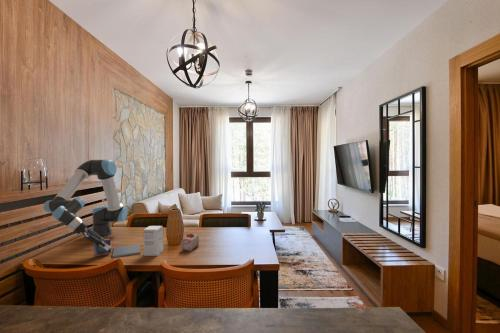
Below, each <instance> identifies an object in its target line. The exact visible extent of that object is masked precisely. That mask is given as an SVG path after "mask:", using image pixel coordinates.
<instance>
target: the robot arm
mask: <svg viewBox="0 0 500 333" xmlns="http://www.w3.org/2000/svg"><path fill="white" fill-rule="evenodd" d="M116 174H117V165H116V163H115V161H113V160H111V159H90V160H86V161H85V162H83V163H81V165H79V166H78V167H77V168H76V169H75V170H74V174H73V175H72V176H71V177H70V178H69V180H68V181H67V182H66V184H65V185H64V186H63V187H61V190H60V191H58V193H57V194H56V195H55V197H54V198H53V199H52V200H51V199H50V200H46V201H45V202H44V204H43V211H44V212H46V213H51V216H52V217H53V218H54V219H55V220H56V221H58V222H60V223H61V224H63V225H64V226H66V227H67V229H68V230H69V229H70V230H71V231H73V232H74V233H76V234H77V235H79V234H81V233H82V234H83V235H82V236H83V237H84V238H86V239H88V240H89V241H91V242H92V243H93V244H94V243H95V244H97V246H98V245H100V246H101V247H103V248H104V249H106V250H107V251H108V250H109V249H110V248H112V246H111V247H110V246H109V245H107V244H106V243H105V242H103V241H101V238H102V237H106V236H110V235H111V234H112V233H113V230H112V228H111V225H110V223H115V222H116V223H121V222H125V220H126V219H127V217H128V213H129V212H128V208H127V207H125V206H124V205H123V203H122V202H121V201H120V197H119V194H118V190H117V187H116V182H115V179H114V177H115V175H116ZM91 176H97V179H98V180H100V182H101V185H102V188H103V192H104V196H105V198H106V202H107V205H101V206H95V207H94V208H93V209H92V228H88V226H89V224H88V223H87V222H85V221H84V220H82V218H80V217H79V216H77V215H76V214H77V213H78V212H80V210H82V208H83V207H84V206H85V204H86V203H85V199H84V198H82V197H80V196H79V197H77V196H76V197H74V198H72V196H73V195H74V194H75V193H76V191H77V190H78V189H79V187H80V186H81V185H82V184H83V183H84V181H85V180H87V179H89V177H91ZM71 198H72V200H71Z"/></svg>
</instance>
